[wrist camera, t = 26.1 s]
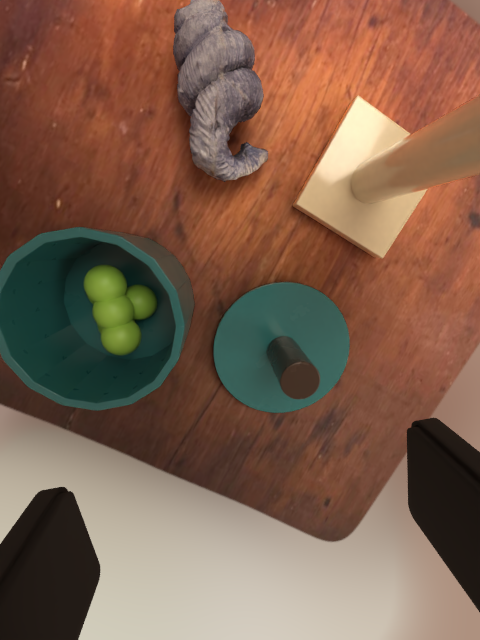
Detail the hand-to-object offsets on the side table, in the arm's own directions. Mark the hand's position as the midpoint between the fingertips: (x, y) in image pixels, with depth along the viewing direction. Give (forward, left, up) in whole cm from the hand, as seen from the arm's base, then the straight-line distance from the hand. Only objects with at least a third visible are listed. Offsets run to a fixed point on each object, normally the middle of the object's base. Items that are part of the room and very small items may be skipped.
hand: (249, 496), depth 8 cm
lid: (+2, +4, -17) cm, 17 cm away
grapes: (-4, -7, -17) cm, 18 cm away
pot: (-4, -7, -17) cm, 19 cm away
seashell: (-16, +2, -17) cm, 23 cm away
